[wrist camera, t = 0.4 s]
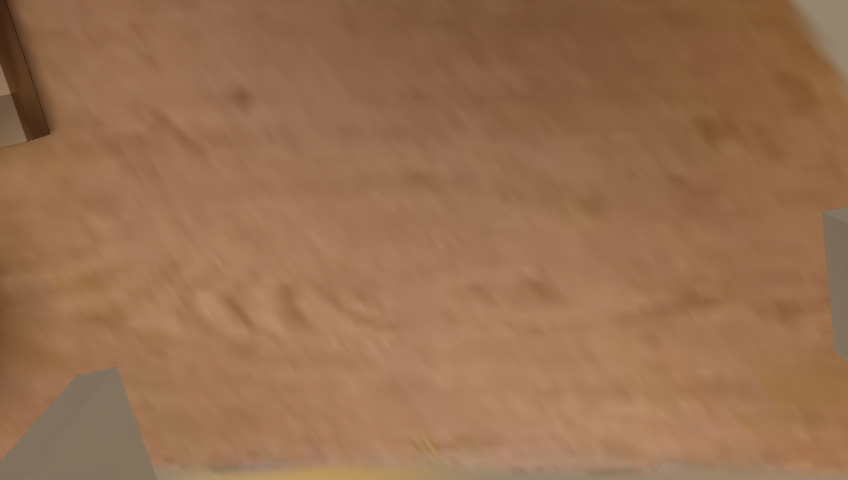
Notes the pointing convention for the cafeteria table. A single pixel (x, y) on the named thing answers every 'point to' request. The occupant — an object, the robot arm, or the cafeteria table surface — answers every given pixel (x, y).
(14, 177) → the cafeteria table surface
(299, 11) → the cafeteria table surface
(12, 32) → the board
